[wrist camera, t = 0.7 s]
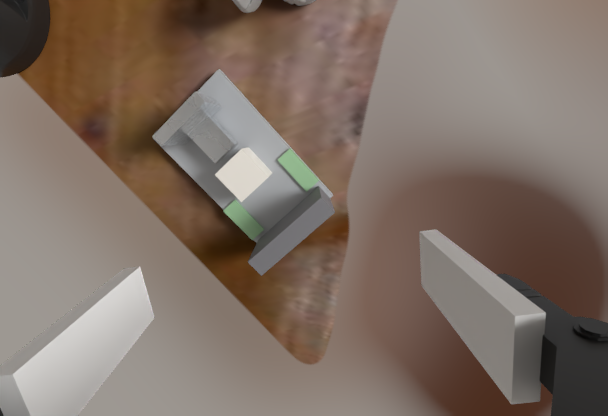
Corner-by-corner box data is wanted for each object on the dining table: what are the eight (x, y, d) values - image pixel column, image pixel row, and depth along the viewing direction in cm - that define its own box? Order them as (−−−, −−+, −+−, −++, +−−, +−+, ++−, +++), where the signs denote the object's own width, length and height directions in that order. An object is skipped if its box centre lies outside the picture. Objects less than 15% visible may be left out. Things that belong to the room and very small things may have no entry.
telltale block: (224, 170, 37) (214, 174, 33) (248, 147, 36) (241, 148, 32) (248, 195, 37) (241, 202, 33) (272, 172, 37) (268, 177, 33)
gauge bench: (157, 138, 37) (115, 138, 29) (221, 71, 35) (196, 52, 27) (267, 249, 40) (257, 278, 32) (332, 193, 38) (338, 208, 30)
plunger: (177, 136, 35) (151, 136, 29) (214, 98, 34) (195, 91, 28) (210, 170, 36) (192, 177, 30) (247, 134, 35) (235, 134, 29)
